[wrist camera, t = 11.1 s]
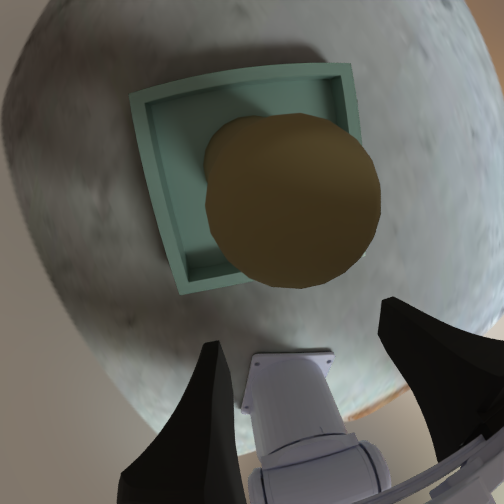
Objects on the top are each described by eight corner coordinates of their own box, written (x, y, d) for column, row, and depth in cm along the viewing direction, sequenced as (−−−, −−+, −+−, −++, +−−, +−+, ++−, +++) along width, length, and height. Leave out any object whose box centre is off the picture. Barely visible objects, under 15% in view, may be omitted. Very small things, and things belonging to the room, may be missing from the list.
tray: (350, 242, 21) (365, 256, 18) (182, 276, 20) (179, 295, 18) (334, 70, 15) (350, 63, 13) (139, 98, 15) (128, 93, 12)
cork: (204, 213, 17) (196, 329, 8) (202, 116, 15) (179, 89, 5) (299, 210, 18) (390, 309, 8) (303, 117, 16) (423, 113, 6)
